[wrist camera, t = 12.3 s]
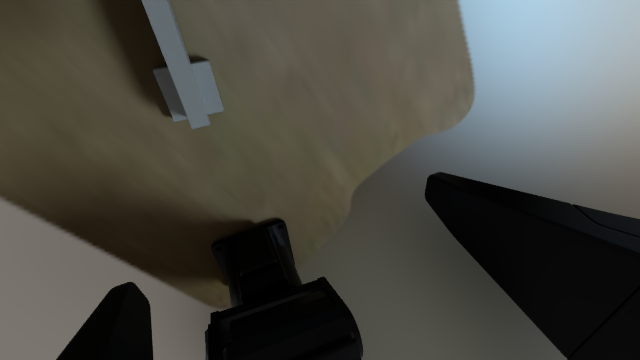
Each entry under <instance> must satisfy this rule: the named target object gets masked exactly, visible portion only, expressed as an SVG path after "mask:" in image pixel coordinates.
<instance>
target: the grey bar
mask: <svg viewBox="0 0 640 360" xmlns="http://www.w3.org/2000/svg"><path fill="white" fill-rule="evenodd" d="M142 3H143V5H144V8H145V10H146V13H147V15H148V18H149V20H150V23H151V26H152V28H153V31H154V33H155V36H156V38H157V41H158V43H159V46H160V48H161V51H162V54H163V56H164V59H165V61H166V64H167V66H166V67H160V68H154V69H153V73H154V75H155V77H156V80H157V82H158V84H159V87H160V89H161V91H162V94H163V96H164V98H165V101H166V103H167V105H168V108H169V110H170V113H171V115H172V117H173V120H174V122H176V121H181V120H185V119H188V120H189V122H190V125H191V127H192V129H195V128H199V127H203V126H208V125H210V121H209V116H208V114H213V113H217V112H222V111H224V109H223V106H222V102H221V99H220V96H219V93H218V89H217V86H216V83H215V80H214V76H213V73H212V70H211V66H210V63H209V60H202V61H196V62H190V59H189V56H188V53H187V50H186V48H185V45H184V42H183V39H182V36H181V33H180V30H179V27H178V24H177V21H176V19H175V16H174V13H173V10H172V7H171V4H170V1H169V0H142Z"/></svg>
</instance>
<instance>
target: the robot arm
mask: <svg viewBox="0 0 640 360" xmlns="http://www.w3.org/2000/svg"><path fill="white" fill-rule="evenodd" d="M425 199H426V201H427V202H428V204H429V205H430V206H431V207H432V209H433V210H434V212H435V213H436V214H437V216H438V217H439V218H440V219H441V221H442V222H443V223H444V225H445V226H446V227H447V229H448V230H449V231H450V232H451V234H452V235H453V236H454V237H455V238H456V240H457V241H458V242H459V243H460V244H461V245H462V246H463V247H464V248H465V249H466V250H467V252H469V254H470V255H471V256H472V257H473V258H474V259H475V260H476V261H477V262H478V263H479V265H480V266H481V267H482V268H483V269H484V270H485V271H486V272H487V273H488V274H489V275H490V276H491V277H492V279H493V280H494V281H495V282H496V283H497V284H498V285H499V286H500V287H501V288H502V289H503V290H504V291H505V293H506V294H507V295H508V296H509V297H510V298H511V299H512V300H513V301H514V302H515V303H516V304H517V306H518V307H519V308H520V309H521V310H522V311H523V312H524V313H525V314H526V315H527V316H528V317H529V319H530V320H531V321H532V322H533V323H534V324H535V325H536V326H537V327H538V328H539V329H540V330H541V331H542V333H543V334H544V335H545V336H546V337H547V338H548V339H549V340H550V341H551V342H552V343H553V344H554V346H555V347H556V348H557V349H558V350H559V351H560V352H561V353H562V354H563V355H564V356H565V357H566V358H567V360H640V219H636V218H631V217H626V216H622V215H617V214H613V213H608V212H604V211H600V210H595V209H591V208H586V207H583V206H579V205H574V204H573V205H572V204H570V203H566V202H562V201H558V200H554V199H550V198H545V197H542V196H537V195H533V194H529V193H525V192H520V191H517V190H513V189H508V188H505V187H500V186H496V185H492V184H488V183H484V182H480V181H476V180H472V179H467V178H463V177H459V176H455V175H451V174H447V173H443V172H438V173H435V174H432V175H430V176H429V177H428V178H427V184H426V189H425ZM279 225H281V226H279ZM216 247H219V248H216ZM212 251H213V253H214V255H215V258H216V260H217V262H218V264H219V266H220V268H221V270H222V272H223V274H224V276H225V278H226V280H227V282H228V285H229V292H230V298H231V305H232V308H229V309H226V310H223V311H220V312H219V311H216V312H213V313H211V324H209V325H208V329H207V330H206V331H205V343H206V360H361V358H362V356H363V346H362V340H361V336H360V332H359V329H358V327H357V324H356V322H355V319H354V317H353V315H352V313H351V311H350V310H349V308H348V307H347V306H346V304H345V303H344V302H343V300H342V299H341V298H340V296H339V295H338V294H337V293H336V291H335V290H334V289H333V287H332V286H331V285H330V284H329V282H328V281H327V280H326V278H325V277H320V278H318V279H317V280H315V281H312V282H309V283H306V284H302V282H301V280H300V277H299V275H298V273H297V270H296V268H295V262H294V258H293V253H292V249H291V245H290V240H289V236H288V231H287V227H286V224H285V222H284V220H277V221H274V222H271V223H268V224H265V225H263V226H260V227H257V228H254V229H251V230H248V231H245V232H242V233H239V234H237V235H234V236H231V237H228V238H225V239H222V240H219V241H216V242H214V243H213V244H212ZM56 360H153V345H152V329H151V312H150V304H149V301H148V299H147V298H146V297H145V295H144V294H143V293H142V292H141V291H140V289H139V288H138V287H137V286H136V285H135V284H134V283H133V282H127V283H124V284H121V285H119V286H116V287H114V288H112V289H111V290H110V291H109V292H108V294H107V295H106V296H105V298H104V299H103V300H102V301H101V302H100V304H99V305H98V307H97V308H96V309H95V310H94V312H93V313H92V314H91V315H90V317H89V318H88V319H87V320H86V322H85V323H84V324H83V326H82V327H81V328H80V329H79V331H78V332H77V333H76V335H75V336H74V337H73V338H72V340H71V341H70V342H69V344H68V345H67V346H66V348H65V349H64V350H63V351H62V353H61V354H60V355H59V356H58V358H57V359H56Z"/></svg>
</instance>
